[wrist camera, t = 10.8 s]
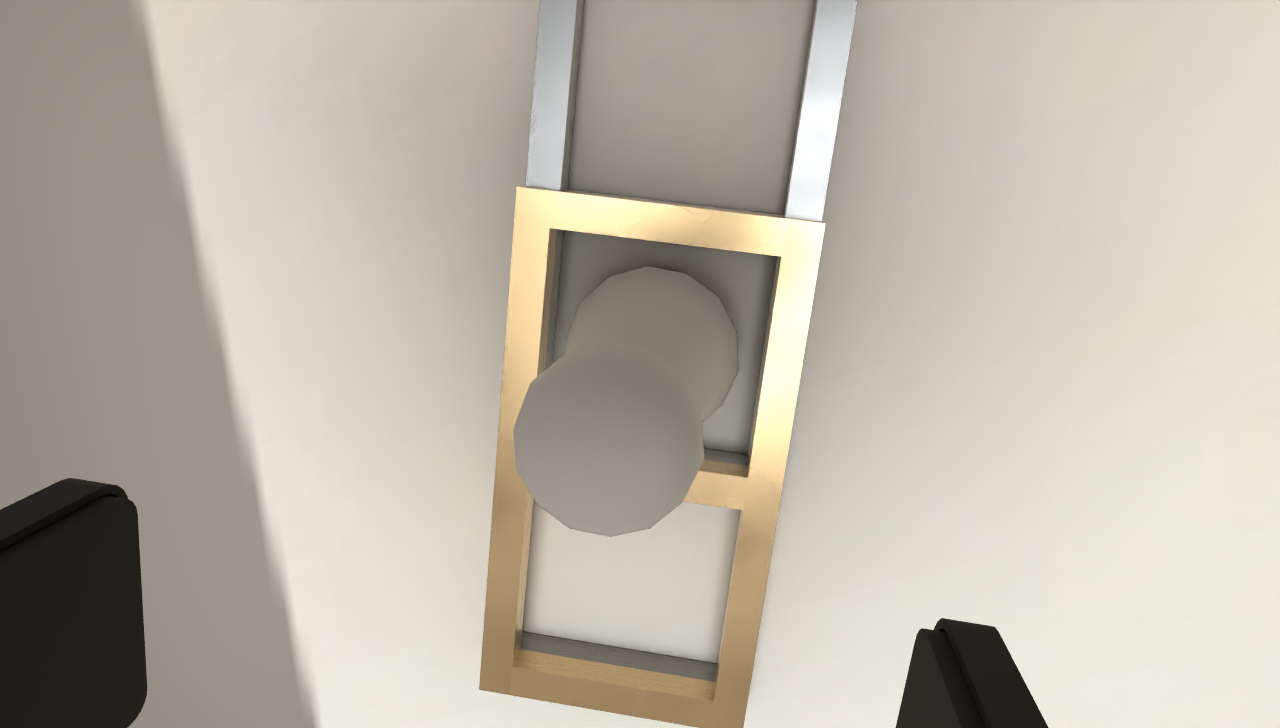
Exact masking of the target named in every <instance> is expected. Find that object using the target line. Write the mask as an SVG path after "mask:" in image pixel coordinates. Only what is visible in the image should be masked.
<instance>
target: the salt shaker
mask: <svg viewBox="0 0 1280 728" xmlns="http://www.w3.org/2000/svg"><path fill="white" fill-rule="evenodd" d="M738 371H739V369H738V345H737V331H736V329H735V327H734V325H733V323H732V321H731V319H730V317H729V316H728V314H727V312H726V310H725V308H724V306H723V304H722V302H721V300H720V298H719V297H718V296H717V295H715V294H714V293H713V292H711V291H710V290H709V289H707V288H706V287H704V286H703V285H702V284H700V283H699V282H698V281H696V280H695V279H693V278H692V277H691V276H689V275H688V274H687V273H682V272H676V271H671V270H666V269H660V268H655V267H650V266H645V267H642V268H638V269H635V270H631V271H627V272H624V273H620V274H617V275H613V276H610V277H608V278H607V279H606V280H605V281H604V282H603V283H601V284H600V285H599V286H598V287H597V288H596V289H595V290H594V291H592V292H591V293H590V294H589V295H588V296H587V297H586V298H584V299H583V300H582V301H581V302H580V304H579V307H578V309H577V312H576V314H575V317H574V320H573V322H572V325H571V327H570V330H569V332H568V335H567V339H566V351H565V354H564V355H563V356H561V357H560V358H559V359H558V360H557V361H556V362H554V363H553V364H552V365H551V366H550V367H549V368H547V369H546V370H545V371H544V372H543V373H541V374H540V375H539V376H538V377H537V378H536V379H534V380H533V381H532V382H531V383H530V385H529V388H528V390H527V393H526V396H525V398H524V401H523V403H522V406H521V409H520V411H519V414H518V417H517V419H516V422H515V426H514V429H513V436H514V448H515V461H516V471H517V472H518V474H519V475H520V477H521V479H522V480H523V482H524V484H525V485H526V487H527V489H528V490H529V492H530V494H531V495H532V497H533V499H534V500H535V502H536V504H537V505H538V506H540V507H541V508H542V509H544V510H545V511H547V512H548V513H549V514H551V515H552V516H553V517H555V518H556V519H558V520H559V521H560V522H562V523H563V524H564V525H566V526H567V527H569V528H570V529H574V530H579V531H584V532H589V533H594V534H599V535H604V536H609V537H611V536H616V535H621V534H626V533H630V532H635V531H640V530H645V529H650V528H651V527H652V526H653V525H655V524H656V523H657V522H658V521H660V520H661V519H662V518H663V517H665V516H666V515H667V514H668V513H670V512H671V511H672V510H673V509H675V508H676V507H677V506H678V505H680V504H681V502H682V501H683V500H684V498H685V497H686V496H687V493H688V491H689V489H690V487H691V485H692V483H693V481H694V479H695V477H696V475H697V473H698V471H699V468H700V466H701V464H702V462H703V460H704V446H703V427H702V422H703V421H704V420H705V419H707V418H708V417H709V416H710V415H711V414H712V413H713V412H714V411H716V410H717V409H718V408H719V407H720V406H721V405H722V404H723V402H724V400H725V398H726V396H727V394H728V392H729V389H730V387H731V385H732V383H733V381H734V379H735V377H736V375H737V373H738Z"/></svg>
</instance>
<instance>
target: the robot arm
mask: <svg viewBox="0 0 1280 728" xmlns="http://www.w3.org/2000/svg"><path fill="white" fill-rule="evenodd" d="M138 533H139V532H138V514H137V509H136V506H135V505H134V503H133V502H132V501H130V500H129V499H128V497H127V495H126V493H125V492H124V490H123V489H122V488H120V487H119V486H117V485H110V484H105V483H99V482H93V481H86V480H80V479H73V478H68V479H65V480H61V481H59V482H57V483H55V484H53V485H51V486H49V487H46V488H44V489H42V490H40V491H38V492H36V493H34V494H32V495H30V496H28V497H26V498H24V499H22V500H20V501H17V502H15V503H13V504H11V505H9V506H7V507H5V508H3V509H1V510H0V728H127V727H129V725H131V724H132V723H133V721H134V720H135V719H136V718H137V716H138V714H139V713H140V712H141V709H142V707H143V705H144V703H145V699H146V695H147V678H146V660H145V641H144V624H143V606H142V587H141V568H140V550H139V534H138ZM896 728H1048V726H1047V724H1046V722H1045V720H1044V718H1043V716H1042V715H1041V713H1040V711H1039V709H1038V707H1037V705H1036V703H1035V701H1034V699H1033V697H1032V695H1031V693H1030V691H1029V690H1028V688H1027V686H1026V684H1025V682H1024V680H1023V678H1022V676H1021V674H1020V672H1019V670H1018V668H1017V666H1016V664H1015V663H1014V661H1013V659H1012V657H1011V655H1010V653H1009V651H1008V649H1007V647H1006V645H1005V643H1004V641H1003V639H1002V638H1001V636H1000V634H999V632H998V631H997V629H996V628H995V627H992V626H987V625H981V624H975V623H968V622H962V621H956V620H950V619H944V618H941V619H940V620H939V621H938V622H937V624H936V626H935V628H934V630H929V629H923V628H922V629H920V630H919V632H918V634H917V637H916V640H915V644H914V648H913V653H912V657H911V662H910V666H909V671H908V675H907V680H906V684H905V689H904V693H903V698H902V702H901V707H900V711H899V716H898V720H897V725H896Z"/></svg>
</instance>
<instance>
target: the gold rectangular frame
mask: <svg viewBox="0 0 1280 728" xmlns="http://www.w3.org/2000/svg"><path fill="white" fill-rule="evenodd" d="M557 229H561V230H569V231H577V232H585V233H594V234H602V235H610V236H618V237H626V238H634V239H642V240H650V241H658V242H667V243H675V244H683V245H691V246H699V247H707V248H715V249H723V250H731V251H740V252H748V253H756V254H764V255H772V256H779V262H778V268H777V275H776V281H775V288H774V295H773V301H772V308H771V314H770V321H769V328H768V334H767V341H766V347H765V354H764V361H763V367H762V374H761V380H760V387H759V394H758V400H757V407H756V413H755V420H754V427H753V433H752V440H751V447H750V453H749V460H748V466H745V465H738V464H731V463H725V462H718V461H711V460H703V462H702V464H701V466H700V468H699V471H698V473H697V475H696V477H695V479H694V481H693V483H692V485H691V487H690V489H689V491H688V493H687V496H686V497H685V498H684V500H683V501H684V502H691V503H698V504H704V505H711V506H718V507H724V508H731V509H738V510H741V513H740V519H739V526H738V532H737V539H736V546H735V552H734V559H733V565H732V572H731V579H730V585H729V592H728V598H727V605H726V612H725V618H724V625H723V631H722V638H721V645H720V651H719V658H718V664H714V663H708V662H702V661H695V660H689V659H683V658H677V657H671V656H665V655H659V654H653V653H647V652H641V651H635V650H629V649H623V648H617V647H611V646H605V645H599V644H593V643H587V642H581V641H575V640H569V639H563V638H557V637H551V636H545V635H539V634H533V633H527V632H522V626H523V614H524V603H525V591H526V580H527V568H528V557H529V545H530V534H531V522H532V511H533V497H532V495H531V494H530V492H529V490H528V489H527V487H526V485H525V484H524V482H523V480H522V479H521V477H520V475H519V474H518V472H517V471H516V461H515V448H514V436H513V429H514V426H515V422H516V419H517V417H518V414H519V411H520V409H521V406H522V403H523V401H524V398H525V396H526V393H527V390H528V388H529V385H530V383H531V382H532V381H533V380H534V379H536V378H537V377H538V376H539V375H540V374H541V373H543V372H544V371H545V361H546V350H547V338H548V326H549V315H550V303H551V292H552V280H553V269H554V257H555V246H556V234H557ZM824 229H825V223H824V222H822V221H815V220H807V219H798V218H790V217H782V216H773V215H765V214H756V213H748V212H740V211H731V210H723V209H715V208H706V207H698V206H689V205H681V204H673V203H664V202H656V201H647V200H639V199H631V198H622V197H614V196H605V195H597V194H589V193H580V192H572V191H564V190H555V189H547V188H538V187H530V186H519V187H517V189H516V203H515V216H514V229H513V243H512V256H511V270H510V283H509V297H508V310H507V323H506V337H505V350H504V364H503V377H502V390H501V404H500V417H499V431H498V444H497V458H496V471H495V484H494V498H493V511H492V525H491V538H490V551H489V565H488V578H487V592H486V605H485V618H484V632H483V645H482V659H481V672H480V686H479V690H484V691H490V692H496V693H501V694H507V695H513V696H519V697H525V698H530V699H536V700H542V701H548V702H554V703H559V704H565V705H571V706H577V707H583V708H588V709H594V710H600V711H606V712H611V713H617V714H623V715H629V716H635V717H640V718H646V719H652V720H658V721H664V722H669V723H675V724H681V725H687V726H692V727H698V728H743V726H744V720H745V714H746V708H747V701H748V695H749V689H750V683H751V677H752V671H753V665H754V658H755V652H756V646H757V640H758V634H759V628H760V622H761V616H762V609H763V603H764V597H765V591H766V585H767V579H768V573H769V566H770V560H771V554H772V548H773V542H774V536H775V530H776V524H777V517H778V511H779V505H780V499H781V493H782V487H783V481H784V475H785V468H786V462H787V456H788V450H789V444H790V438H791V432H792V425H793V419H794V413H795V407H796V401H797V395H798V389H799V383H800V376H801V370H802V364H803V358H804V352H805V346H806V340H807V333H808V327H809V321H810V315H811V309H812V303H813V297H814V291H815V284H816V278H817V272H818V266H819V260H820V254H821V248H822V242H823V235H824Z"/></svg>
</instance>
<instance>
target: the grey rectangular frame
mask: <svg viewBox="0 0 1280 728" xmlns="http://www.w3.org/2000/svg"><path fill="white" fill-rule="evenodd" d="M856 7H857V0H816V2H815V8H814V15H813V22H812V28H811V35H810V42H809V48H808V55H807V61H806V68H805V75H804V81H803V88H802V95H801V101H800V108H799V115H798V121H797V128H796V134H795V141H794V148H793V154H792V161H791V168H790V174H789V181H788V188H787V194H786V201H785V207H784V214H783V215H779V214H770V213H762V212H754V211H745V210H737V209H728V208H720V207H712V206H703V205H695V204H686V203H678V202H670V201H661V200H653V199H644V198H636V197H628V196H619V195H611V194H602V193H594V192H586V191H577V190H569V189H567V188H568V177H569V166H570V154H571V143H572V132H573V121H574V109H575V98H576V87H577V76H578V64H579V53H580V42H581V31H582V19H583V8H584V0H540V8H539V21H538V34H537V47H536V60H535V73H534V86H533V99H532V112H531V125H530V138H529V151H528V164H527V177H526V186H530V187H538V188H547V189H555V190H564V191H572V192H580V193H589V194H597V195H605V196H614V197H622V198H631V199H639V200H647V201H656V202H664V203H673V204H681V205H689V206H698V207H706V208H715V209H723V210H731V211H740V212H748V213H756V214H765V215H773V216H782V217H790V218H798V219H807V220H815V221H822V217H823V210H824V204H825V198H826V192H827V186H828V180H829V173H830V167H831V161H832V155H833V149H834V142H835V136H836V130H837V124H838V118H839V112H840V105H841V99H842V93H843V87H844V81H845V75H846V68H847V62H848V56H849V50H850V44H851V37H852V31H853V25H854V19H855V13H856ZM563 233H564V230H561V229H557V234H556V246H555V257H554V269H553V280H552V292H551V303H550V315H549V326H548V338H547V350H546V361H545V370H546V369H547V368H549V367H550V366H551V365H552V357H553V346H554V334H555V323H556V312H557V301H558V289H559V278H560V267H561V256H562V244H563ZM778 262H779V256H777V260H776V267H775V274H774V280H773V287H772V294H771V300H770V307H769V314H768V320H767V327H766V333H765V340H764V347H763V353H762V360H761V367H760V373H759V380H758V387H757V393H756V400H755V406H754V413H753V420H752V426H751V433H750V440H749V446H748V453H747V455H746V454H739V453H732V452H725V451H718V450H711V449H704V460H711V461H718V462H725V463H731V464H738V465H745V466H748V460H749V453H750V447H751V440H752V433H753V427H754V420H755V413H756V407H757V400H758V394H759V387H760V380H761V374H762V367H763V361H764V354H765V347H766V341H767V334H768V328H769V321H770V314H771V308H772V301H773V295H774V288H775V281H776V275H777V268H778Z"/></svg>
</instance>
